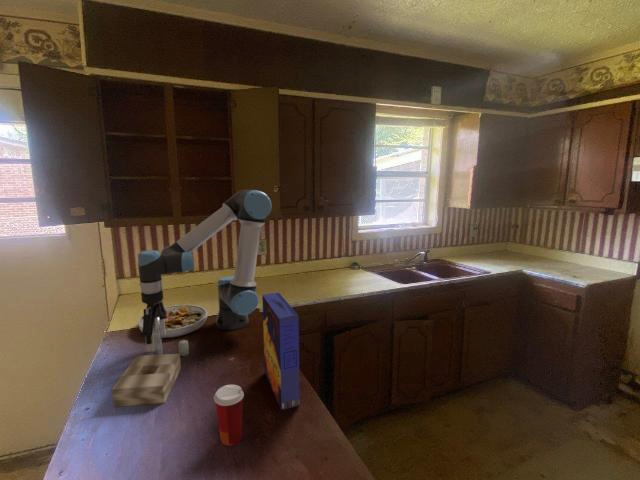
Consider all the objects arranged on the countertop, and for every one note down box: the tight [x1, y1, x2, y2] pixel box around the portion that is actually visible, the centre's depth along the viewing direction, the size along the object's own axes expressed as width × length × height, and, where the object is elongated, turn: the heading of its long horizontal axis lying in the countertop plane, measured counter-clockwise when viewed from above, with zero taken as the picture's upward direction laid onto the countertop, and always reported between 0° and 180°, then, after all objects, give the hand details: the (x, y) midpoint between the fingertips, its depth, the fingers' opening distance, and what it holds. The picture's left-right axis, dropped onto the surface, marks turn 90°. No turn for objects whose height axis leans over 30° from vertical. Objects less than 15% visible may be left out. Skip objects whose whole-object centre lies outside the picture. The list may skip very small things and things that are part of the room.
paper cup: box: [213, 384, 245, 447], centre depth 94 cm, size 8×8×14 cm
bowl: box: [138, 304, 208, 339], centre depth 165 cm, size 30×30×8 cm
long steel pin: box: [151, 316, 164, 355], centre depth 137 cm, size 4×4×16 cm
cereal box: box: [262, 292, 301, 411], centre depth 115 cm, size 22×6×30 cm, turn 22°
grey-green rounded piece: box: [177, 339, 190, 357], centre depth 139 cm, size 4×4×5 cm
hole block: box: [111, 352, 182, 408], centre depth 118 cm, size 15×20×6 cm
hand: (156, 342), depth 137 cm, fingers open, 13 cm apart
